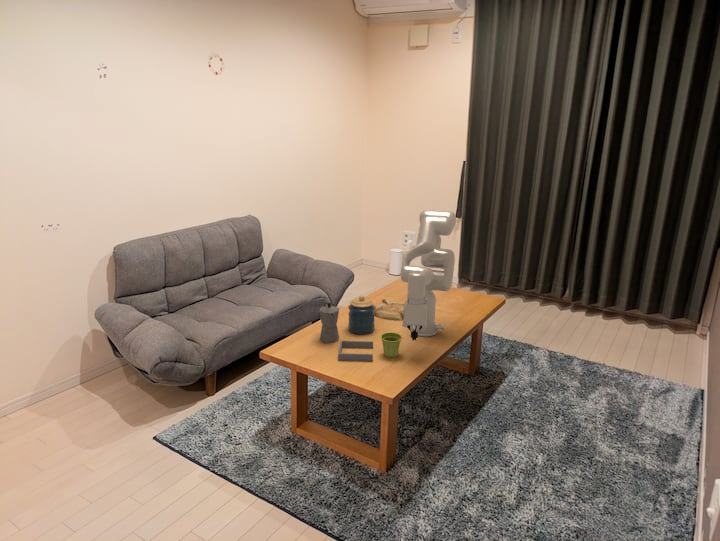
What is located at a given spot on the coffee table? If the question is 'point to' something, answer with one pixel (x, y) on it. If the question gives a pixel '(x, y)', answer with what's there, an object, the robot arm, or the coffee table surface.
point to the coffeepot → (329, 323)
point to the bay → (355, 356)
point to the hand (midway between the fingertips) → (414, 339)
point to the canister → (361, 316)
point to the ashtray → (389, 310)
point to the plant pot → (391, 343)
